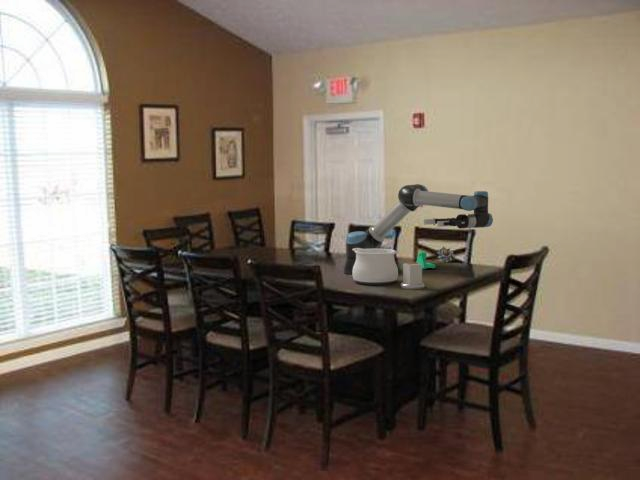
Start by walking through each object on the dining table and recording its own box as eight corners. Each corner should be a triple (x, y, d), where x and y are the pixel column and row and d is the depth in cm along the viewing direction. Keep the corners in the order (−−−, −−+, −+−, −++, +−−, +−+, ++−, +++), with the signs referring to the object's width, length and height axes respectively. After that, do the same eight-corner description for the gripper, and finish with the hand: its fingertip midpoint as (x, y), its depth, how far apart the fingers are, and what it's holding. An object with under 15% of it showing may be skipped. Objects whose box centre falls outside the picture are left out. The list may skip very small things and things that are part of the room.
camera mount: (435, 269, 428) (435, 252, 427) (423, 270, 426) (424, 252, 425) (427, 266, 440) (427, 250, 438) (416, 267, 438) (416, 250, 436)
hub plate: (407, 290, 360) (407, 274, 359) (396, 286, 371) (396, 271, 370) (428, 288, 365) (428, 272, 364) (416, 284, 376) (416, 269, 375)
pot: (410, 281, 385) (410, 249, 383) (382, 288, 367) (382, 254, 365) (368, 276, 404) (368, 245, 402) (340, 282, 386) (339, 250, 384)
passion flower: (446, 271, 456) (438, 256, 451) (438, 265, 465) (430, 251, 460) (460, 260, 457) (452, 246, 452) (451, 255, 467) (444, 241, 462)
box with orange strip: (409, 284, 363) (409, 264, 362) (403, 282, 370) (403, 262, 369) (422, 283, 366) (422, 263, 365) (415, 281, 372) (415, 261, 371)
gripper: (479, 230, 371) (443, 232, 363) (452, 226, 394) (418, 228, 386) (479, 215, 370) (443, 217, 362) (452, 212, 393) (418, 214, 385)
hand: (430, 223), depth 374 cm, fingers open, 13 cm apart
